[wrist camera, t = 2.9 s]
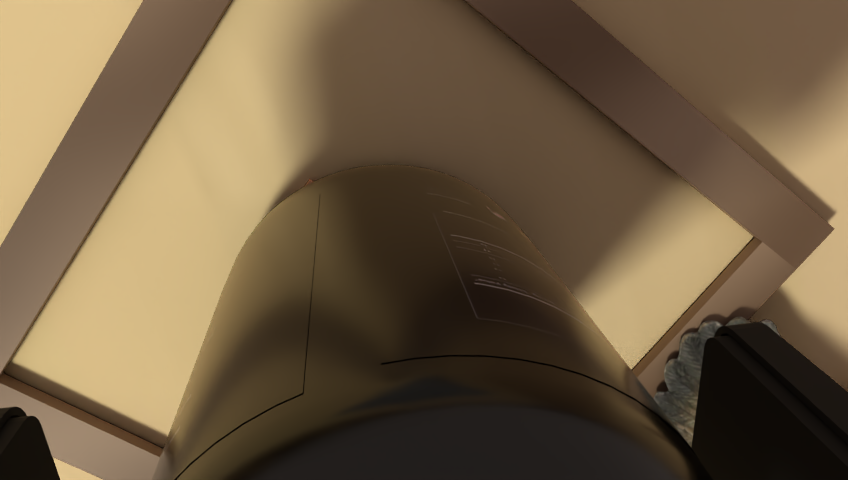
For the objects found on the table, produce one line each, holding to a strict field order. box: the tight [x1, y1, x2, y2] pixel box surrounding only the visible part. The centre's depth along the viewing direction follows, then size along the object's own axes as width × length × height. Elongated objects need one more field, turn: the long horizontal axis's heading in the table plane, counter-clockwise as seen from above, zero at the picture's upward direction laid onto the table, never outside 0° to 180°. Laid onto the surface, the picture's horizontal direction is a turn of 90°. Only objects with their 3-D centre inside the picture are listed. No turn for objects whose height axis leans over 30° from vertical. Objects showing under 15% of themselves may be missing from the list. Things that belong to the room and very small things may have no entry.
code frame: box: [0, 0, 834, 480], centre depth 14 cm, size 14×14×1 cm
